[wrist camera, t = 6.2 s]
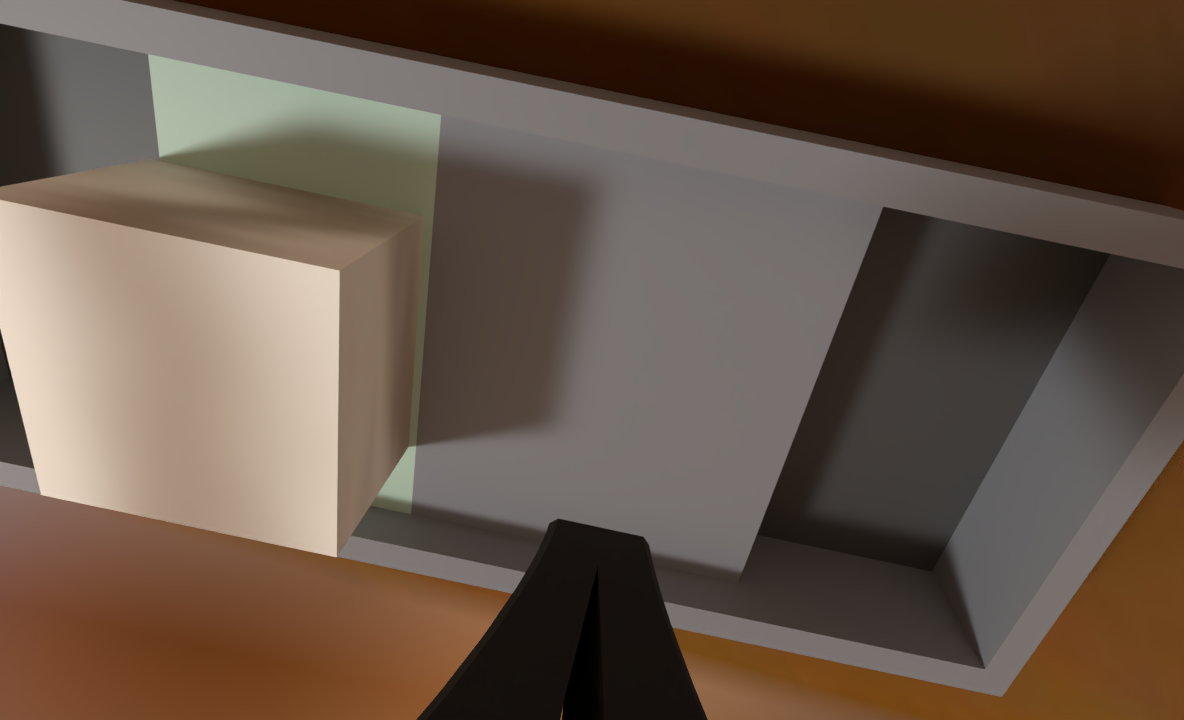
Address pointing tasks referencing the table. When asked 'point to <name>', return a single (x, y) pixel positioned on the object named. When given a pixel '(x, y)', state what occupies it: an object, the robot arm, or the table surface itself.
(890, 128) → the table surface
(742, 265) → the gray tray
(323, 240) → the cream block
